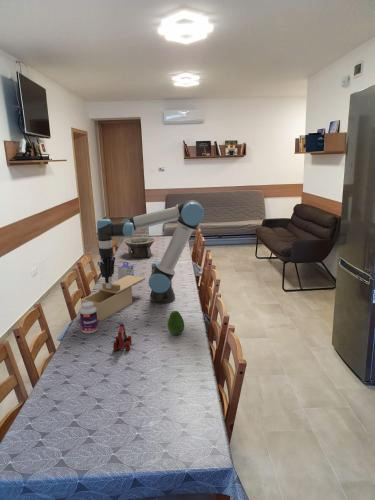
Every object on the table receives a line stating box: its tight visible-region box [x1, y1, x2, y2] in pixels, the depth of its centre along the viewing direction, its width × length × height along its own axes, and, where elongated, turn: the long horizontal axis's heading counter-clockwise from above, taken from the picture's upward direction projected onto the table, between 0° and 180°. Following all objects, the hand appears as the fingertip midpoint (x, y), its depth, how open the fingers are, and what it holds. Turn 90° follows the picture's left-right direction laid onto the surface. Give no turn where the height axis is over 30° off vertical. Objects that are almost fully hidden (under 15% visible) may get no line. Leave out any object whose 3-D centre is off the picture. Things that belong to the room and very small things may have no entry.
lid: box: [98, 275, 146, 294], centre depth 217 cm, size 13×28×4 cm, turn 153°
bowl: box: [123, 236, 156, 259], centre depth 320 cm, size 27×26×15 cm
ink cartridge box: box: [117, 261, 135, 280], centre depth 250 cm, size 10×6×14 cm, turn 85°
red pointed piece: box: [113, 322, 133, 352], centre depth 165 cm, size 7×12×10 cm, turn 2°
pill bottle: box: [79, 302, 99, 334], centre depth 180 cm, size 8×8×14 cm
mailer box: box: [80, 286, 133, 322], centre depth 206 cm, size 13×28×10 cm, turn 153°
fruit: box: [167, 310, 185, 336], centre depth 175 cm, size 8×8×12 cm
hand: (108, 287), depth 206 cm, fingers closed
